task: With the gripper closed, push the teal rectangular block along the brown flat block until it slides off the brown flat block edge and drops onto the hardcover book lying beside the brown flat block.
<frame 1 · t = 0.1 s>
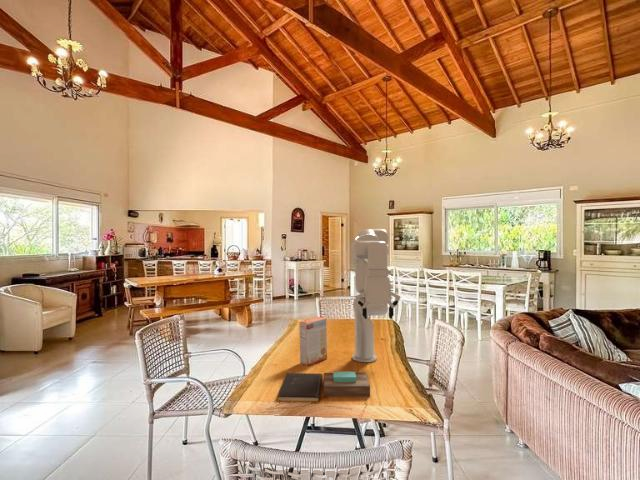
hand: (377, 318, 135), 31 cm above the table, tool pointing down, fingers open, 9 cm apart
cracker box: (313, 361, 178), on the table
teal rectangular block: (344, 379, 145), point 4 cm above the table, touching brown flat block
brown flat block: (345, 388, 145), on the table
hardcover book: (301, 390, 146), on the table
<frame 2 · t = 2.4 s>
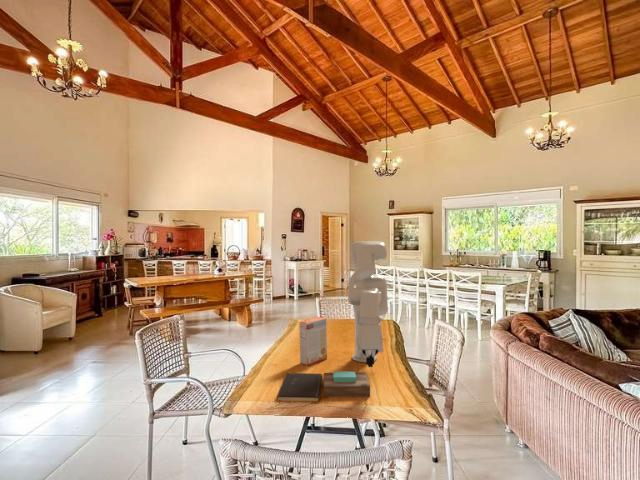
hand: (370, 366, 144), 10 cm above the table, tool pointing down, fingers closed
nothing on the table moved.
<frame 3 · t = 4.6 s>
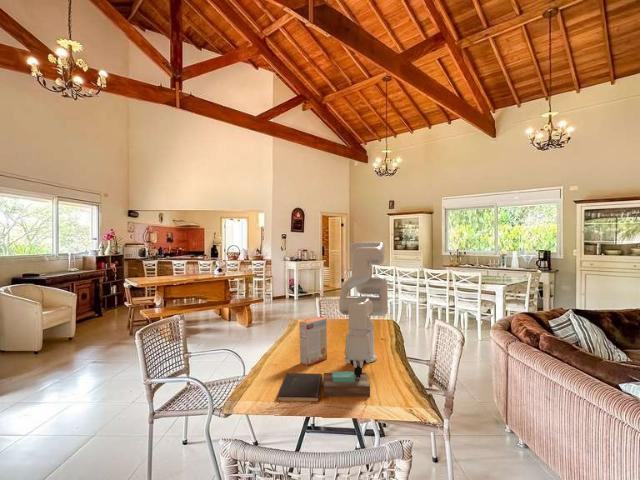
hand: (358, 376, 144), 5 cm above the table, tool pointing down, fingers closed
teal rectangular block: (343, 379, 145), point 4 cm above the table, touching brown flat block, gripper
everything else where it was.
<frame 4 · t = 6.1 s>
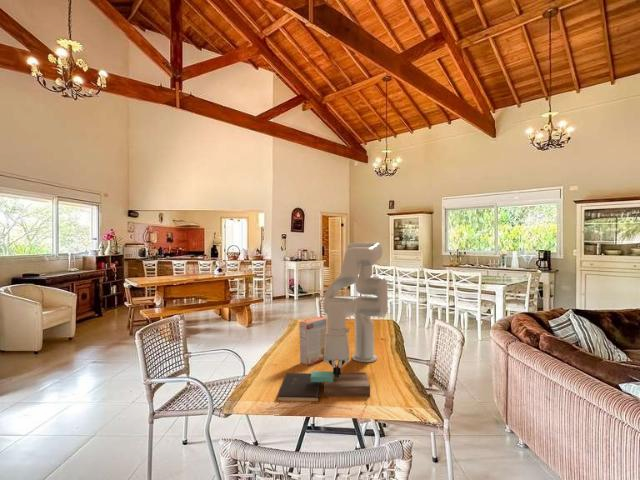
hand: (336, 376, 144), 5 cm above the table, tool pointing down, fingers closed
teal rectangular block: (322, 379, 145), point 4 cm above the table, touching brown flat block
everything else where it was.
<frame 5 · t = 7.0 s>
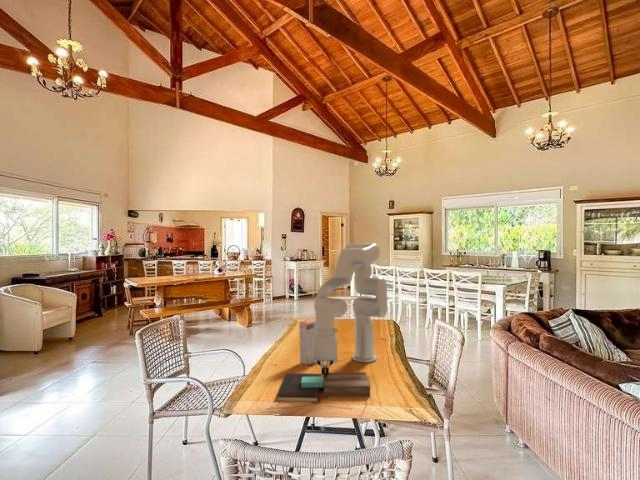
hand: (325, 376, 145), 5 cm above the table, tool pointing down, fingers closed
teal rectangular block: (312, 384, 145), point 2 cm above the table
everything else where it was.
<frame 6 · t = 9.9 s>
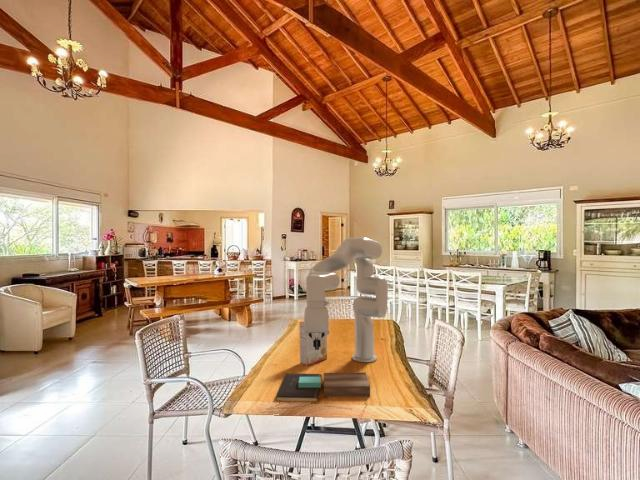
hand: (317, 348, 145), 16 cm above the table, tool pointing down, fingers closed
teal rectangular block: (310, 384, 145), point 2 cm above the table
everything else where it was.
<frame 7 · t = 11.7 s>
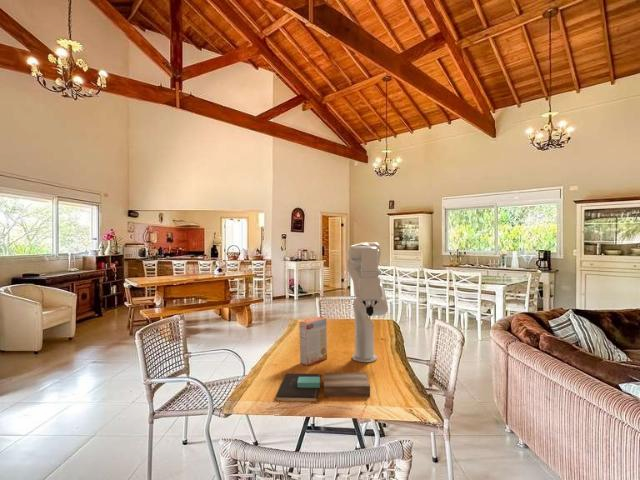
hand: (369, 315, 158), 27 cm above the table, tool pointing down, fingers closed
teal rectangular block: (309, 384, 145), point 2 cm above the table, touching hardcover book
hardcover book: (300, 390, 146), on the table, touching teal rectangular block
everything else where it was.
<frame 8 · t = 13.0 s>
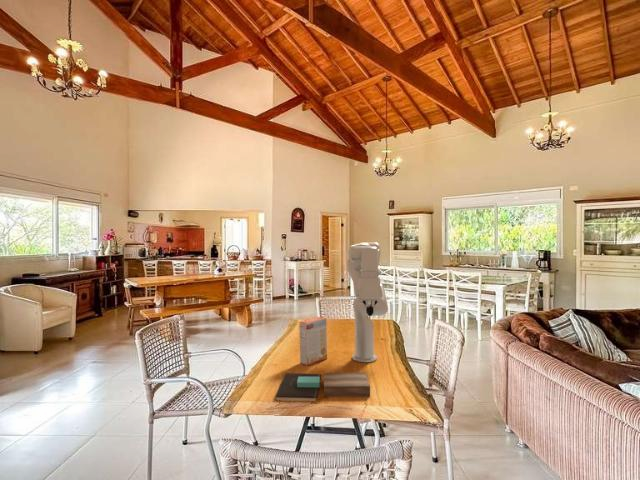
hand: (369, 315, 158), 27 cm above the table, tool pointing down, fingers closed
nothing on the table moved.
at the end: teal rectangular block inside the target area on the hardcover book (3.6 cm from its centre), point 2.5 cm above the hardcover book's base; teal rectangular block moved 15.0 cm from its start; the gripper is holding nothing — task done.
